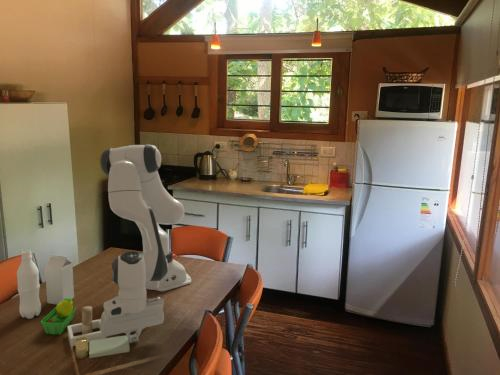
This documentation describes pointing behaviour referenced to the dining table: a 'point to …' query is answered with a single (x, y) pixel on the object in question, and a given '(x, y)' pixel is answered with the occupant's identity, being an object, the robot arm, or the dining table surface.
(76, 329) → the tray
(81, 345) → the cylinder
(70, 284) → the milk carton
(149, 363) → the dining table surface
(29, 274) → the water bottle
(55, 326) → the fruit basket
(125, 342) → the plate board
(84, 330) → the dowel
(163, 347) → the dining table surface
